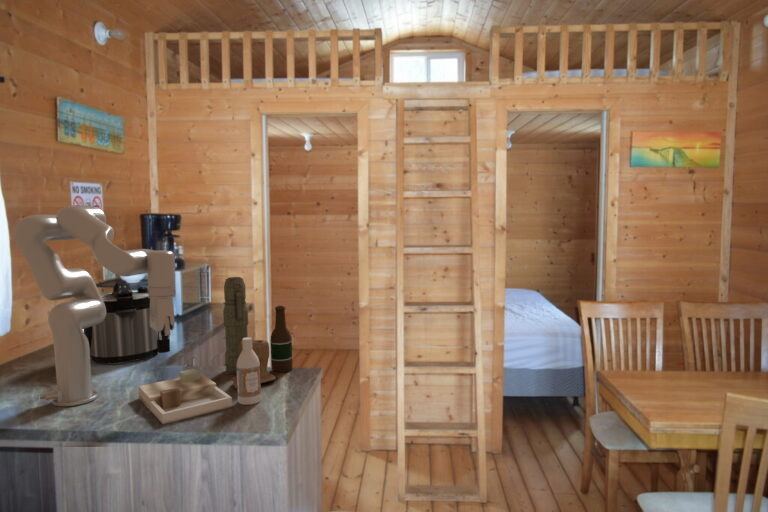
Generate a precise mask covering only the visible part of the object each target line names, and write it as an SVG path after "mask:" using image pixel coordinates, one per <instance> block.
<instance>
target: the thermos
mask: <svg viewBox="0 0 768 512" xmlns="http://www.w3.org/2000/svg"><path fill="white" fill-rule="evenodd" d="M223 293H224V295H223V296H224V297H223V298H224V307H223V311H222V312H223V327H224V329H225V346H226V347H225V353H224V363H225V364H224V365H225V372H227V374H228V373H230V374H229V375H237V360H238V358H239V345H240V342H242V339H243V338H247V337H249V336H248V333H249V332H248V325H249V309H248V306H247V302H246V298H247V297H246V296H247V293H246V284H245V280H244V278H242V277H241V276H233V277H227V278H225V281H224V285H223Z"/></svg>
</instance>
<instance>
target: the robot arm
mask: <svg viewBox="0 0 768 512" xmlns="http://www.w3.org/2000/svg"><path fill="white" fill-rule="evenodd" d="M13 236H14V242H15V243H14V244H15V245H16V247H17V249H18V251H19V253H20V255H21V256H22V257H23V259H24V260H25V262H26V263H27V265H28V267H29V269H30V272H31V274H32V276H33V278H34V280H35V283H36V285H37V287H38V289H39V291H40V293H41V295H42V296H43V297H44V298H45V299H46V300H47V301H52V302H53V301H61V300H66V299H71V298H72V300H70V301H64V302H61V303H58V304H56V305H54V306H53V307H52V308H51V309H50V311H49V313H48V315H47V316H48V317H47V321H48V326H49V329H50V333H51V336H52V340H53V341H52V342H53V350H54V353H53V354H54V362H55V377H56V379H55V380H56V386H55V387H54V389H51V391H48V392H41V393H39V400H40V401H41V400H45V401H47V400H51V399H52V400H51V404H52V405H53V406H55V407H73V406H79V405H83V404H87V403H89V402H92V401H93V400H96V399H97V398H98V397H99V392H98V391H97V390H94V389H93V381H92V365H91V357H90V348H89V341H88V339H87V337H86V335H85V334H84V328H87V327H91V326H94V325H97V324H99V323H101V322H102V321H103V320H104V319H105V317H106V307H105V304H104V301H103V299H102V297H101V295H102V294H100V291H99V289H98V286H97V285H96V283H95V279H93V277H92V275H91V274H90V273H89V272H88V271H87V270H85V269H83V268H79V267H72V268H71V267H70V268H66V267H65V266H64V264H63V263H62V260H61V257H60V256H59V254H58V253H57V251H55V250H54V249H53V248H52V247H51V246H49V245H48V244H47V242H57V241H59V242H60V241H68V240H74V239H77V240H78V241H80V242H81V243H83V244H84V245H86V246H87V247H88V248H91V252H92V254H93V255H92V256H93V257H94V258H95V261H96V262H97V263H98V264H99V265H100V266H102V267H104V269H106V270H108V271H109V272H111V273H113V274H115V275H117V276H121V277H130V276H135V275H143V274H147V288H148V289H147V290H148V298H150V316H149V325H150V327H151V328H152V329H154V330H155V331H157V352H158V354H164V353H169V352H171V347H170V346H171V345H170V344H171V342H170V339H171V338H170V337H171V331H173V330H174V329H175V309H174V308H175V307H174V299H173V298H175V297H176V294H177V293H176V266H175V265H176V263H175V259H176V258H175V253H174V252H173V251H171V250H161V249H160V250H154V249H149V248H139V249H129V250H128V249H126V250H123V249H122V248H120V247H118V246H116V245H115V244H113V243H112V242H113V239H114V237H115V230H114V228H113V227H112V226H111V225H109V224H107V217H106V214H105V213H104V211H102V209H100V208H99V207H97V206H93V205H68V206H65V207H62V208H61V209H60V210H58V212H57V214H42V213H41V214H31V215H28V216H24V217H23V218H21V219H19V220H18V222H17V223H16V225H15V228H14V235H13Z"/></svg>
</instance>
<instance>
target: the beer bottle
mask: <svg viewBox="0 0 768 512" xmlns="http://www.w3.org/2000/svg"><path fill="white" fill-rule="evenodd" d="M274 310H275V324H274V329H273V330H272V332H271V335H270V361H271V362H270V364H271V366H270V367H271V370H272V371H273V373H280V374H281V373H287V372H288V373H289V372H291V371H292V370H293V342H292V341H293V340H292V334H291V332H290V330H289V329H288V328H287V323H286V322H287V321H286V314H285V311H286V307H285V306H284V305H277V306H275V308H274Z"/></svg>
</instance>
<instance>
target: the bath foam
mask: <svg viewBox="0 0 768 512" xmlns="http://www.w3.org/2000/svg"><path fill="white" fill-rule="evenodd" d="M252 340H253V338H252V337H249V336H248V337H247V338H243V339H242V345H243V351H242V352H241V354H240V356H239V358H238V360H237V374H236V376H237V388H236V390H237V403H239V404H240V405H243V406H249V405H255V404H258V403H260V401H261V399H262V392H261V390H262V388H261V387H262V386H261V384H260V363H259V359H258V357H257V355H256V354H255V352H254V351H253V350H252Z"/></svg>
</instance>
